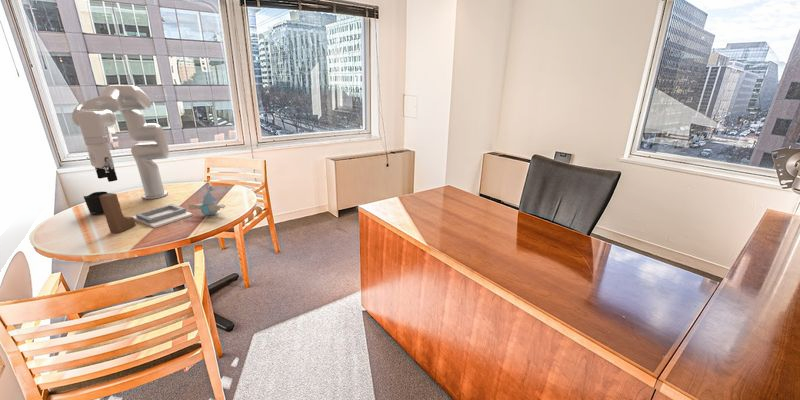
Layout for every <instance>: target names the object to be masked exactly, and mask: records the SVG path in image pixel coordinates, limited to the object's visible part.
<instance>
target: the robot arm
mask: <svg viewBox="0 0 800 400" xmlns="http://www.w3.org/2000/svg"><path fill="white" fill-rule="evenodd" d="M151 101H152V100H151V99H150V97H149V95H148V94H147V93H145V92H144V91H143V90H142V89H141V88H140V87H138V86H135V85H132V84H111V85H107V86H106V87H104V89H103V90H102V92H101V93H100V94H99V96H97V97H93V98H90V99H88V100H86V101H85V100H84V101H82V102H81V103H79V104H77V105H76V107H75V108H74V109H73V111H72V112H71V119H72V122H73V123H74V124H75V125H76V126H78V127H79V128H80V131H81V134H82V138H83V141H84V144H85V146H86V147H87V148H86V149H87V153H88V156H89V160H90V164H91V166H92V167H94V169H95V172H96V173H95V174H96V176H97V179H99V180H100V179H106V178H107V182H109V183H110V182H115V181H118V176H117V173H116V170H115V166H114V165H115V163H114V160H113V157H112V153H111V151H110V148H109V146H108V144H109V139H108V136H107V132H106V129H105V128H106V127H113V126H114V125H115V124H116V123H117V117H116V114H115V113H116V112H119V113H120V114H121V115H122V116H123V118H124V121H125V124H126V127H127V130H128V133H129V136H130V138H131V140H132V141H134V142H143V143H136V144H133V145H132V146H131V147H130V148H131V149H130V151H131V155H132V157H133V159H134V161H135V163H136V166H137V170H138V173H139V174H138V175H139V177H140V181H141V185H142V188H143V191H144V193H143V194H142V195H141V197H142V199H144V200H153V199H160V198H163V197H166V196H168V195H169V194H168V193H169V192H168V191H167V190H165V188H164V185H163V181H162V177H161V176H162V175H161V173H160V167H159V166H158V164H157V163H156V162H155V161H154V160H165V159H168V158H169V157H170V150H169V145H168V142H167V138H166V135H165V131H164V129H163V126H161V125H160V124H158V123H147V122H146V119H145V116H144V114H143V113H142V112H141V111H146V110H149V109H151V106H152V102H151Z"/></svg>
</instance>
